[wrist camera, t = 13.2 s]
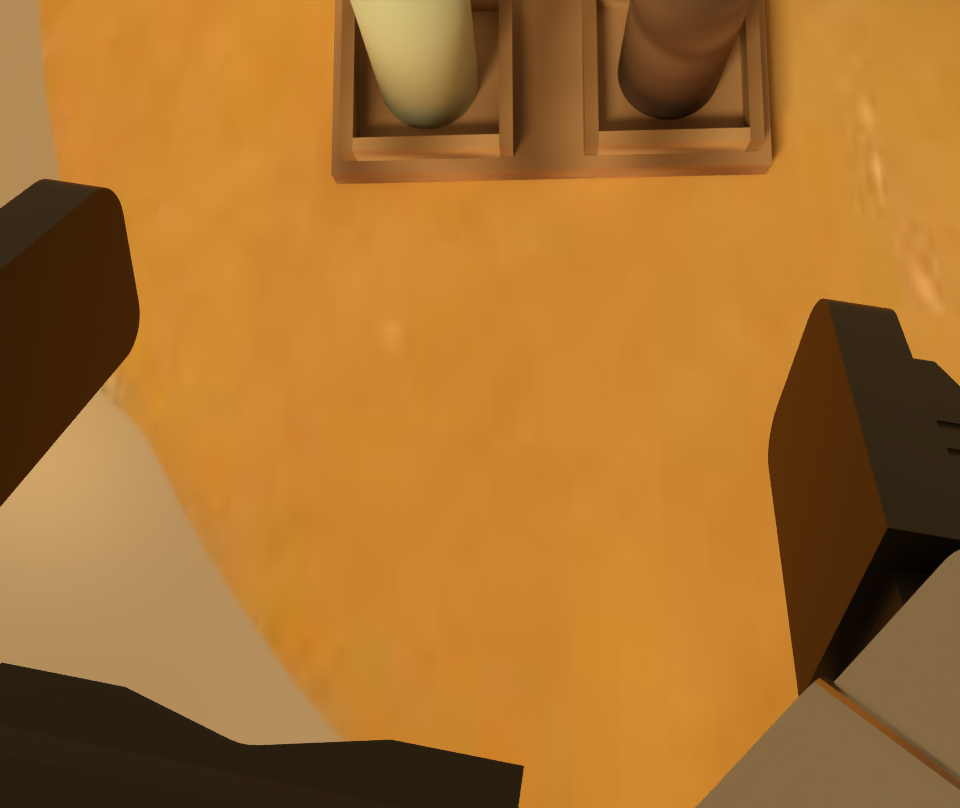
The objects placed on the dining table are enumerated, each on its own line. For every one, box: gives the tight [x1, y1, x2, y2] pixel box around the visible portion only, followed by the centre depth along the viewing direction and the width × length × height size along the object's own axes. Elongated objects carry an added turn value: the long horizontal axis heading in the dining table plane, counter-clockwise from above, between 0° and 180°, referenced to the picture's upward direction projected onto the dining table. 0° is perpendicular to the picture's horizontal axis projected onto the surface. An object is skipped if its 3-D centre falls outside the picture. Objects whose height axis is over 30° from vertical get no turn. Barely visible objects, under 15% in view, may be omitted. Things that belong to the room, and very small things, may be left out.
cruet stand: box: [331, 0, 772, 184], centre depth 42 cm, size 20×9×2 cm, turn 90°
